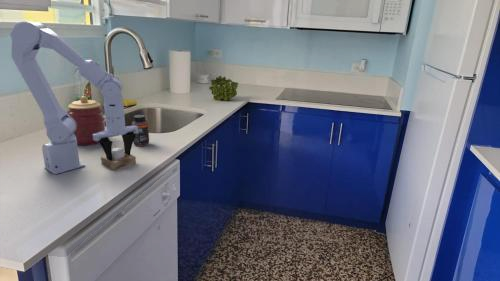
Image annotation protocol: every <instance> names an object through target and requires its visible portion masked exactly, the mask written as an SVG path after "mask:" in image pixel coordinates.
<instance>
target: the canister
mask: <svg viewBox="0 0 500 281" xmlns="http://www.w3.org/2000/svg"><path fill="white" fill-rule="evenodd" d="M67 107H68V110H66V111H67V113H68V115H69V116H70V117H71V118H73V119H74V120H75V122H76V124H77V128H76V130H75V132H74V135H75V136H76V139H77V146H78V145H79V146H89V145H97V144H100V143H99V142H98V141H95V140H93V134H95V133H98V132H101V131H104V130H106V123H105V116H103V113H104V112H105V111H104V108H102V107H101V103H100V102H97V100H94V99H93V100H92V99H88V97H87V96H85V95H82V96H80V98H79V100H75V101H72V102H71V103H70V104H68V106H67Z"/></svg>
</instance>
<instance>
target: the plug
mask: <svg viewBox="0 0 500 281" xmlns="http://www.w3.org/2000/svg"><path fill="white" fill-rule="evenodd" d="M124 152H125V151H124V147H114V148H112V160H114V161H117V160H118V159H120V158H124V157H125V156H124Z"/></svg>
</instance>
